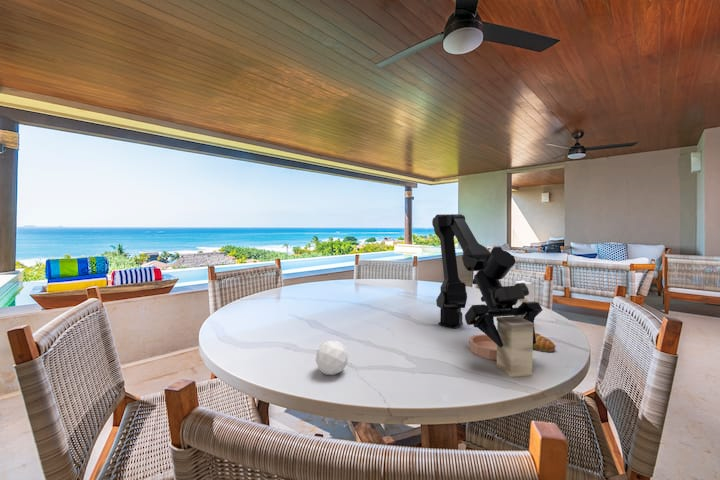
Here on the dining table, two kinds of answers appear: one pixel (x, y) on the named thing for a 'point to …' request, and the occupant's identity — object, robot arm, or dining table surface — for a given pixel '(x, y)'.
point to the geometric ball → (331, 357)
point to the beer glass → (529, 297)
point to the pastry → (543, 344)
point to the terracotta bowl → (483, 346)
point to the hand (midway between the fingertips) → (518, 345)
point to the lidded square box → (515, 346)
